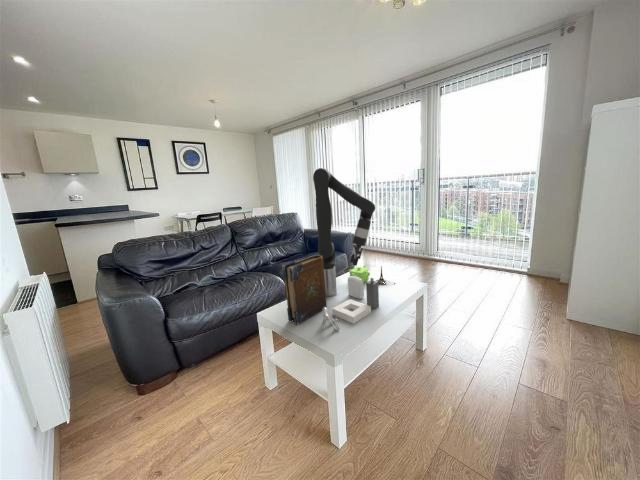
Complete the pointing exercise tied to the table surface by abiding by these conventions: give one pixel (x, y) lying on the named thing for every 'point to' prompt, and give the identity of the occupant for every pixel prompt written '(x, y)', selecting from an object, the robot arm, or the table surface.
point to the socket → (351, 310)
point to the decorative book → (304, 288)
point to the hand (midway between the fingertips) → (353, 263)
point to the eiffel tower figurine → (381, 279)
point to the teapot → (360, 273)
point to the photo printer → (355, 287)
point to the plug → (372, 294)
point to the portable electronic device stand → (326, 317)
